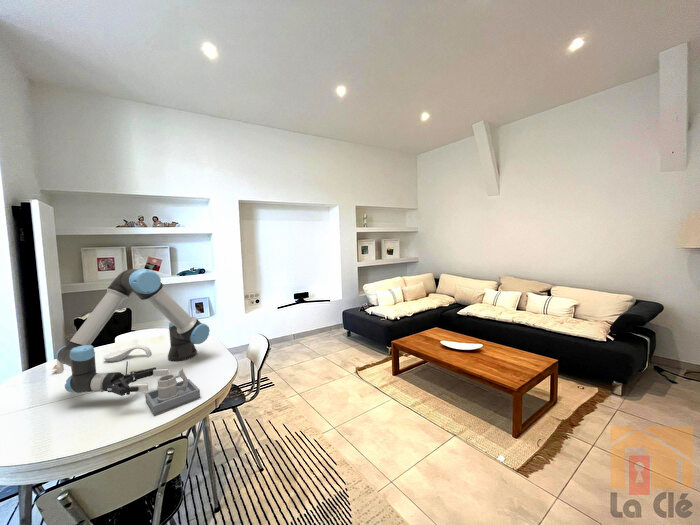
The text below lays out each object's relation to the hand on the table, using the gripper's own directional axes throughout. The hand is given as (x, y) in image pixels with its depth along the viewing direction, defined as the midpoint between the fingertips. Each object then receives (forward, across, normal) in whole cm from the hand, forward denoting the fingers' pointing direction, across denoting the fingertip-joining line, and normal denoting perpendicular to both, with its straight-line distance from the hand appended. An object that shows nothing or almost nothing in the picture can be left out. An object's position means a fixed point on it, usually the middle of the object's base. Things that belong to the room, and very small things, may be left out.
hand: (158, 379), depth 121 cm
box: (+6, 0, -10) cm, 11 cm away
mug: (+6, 0, -9) cm, 10 cm away
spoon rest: (-51, -50, -10) cm, 73 cm away
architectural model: (-76, -35, -10) cm, 84 cm away
